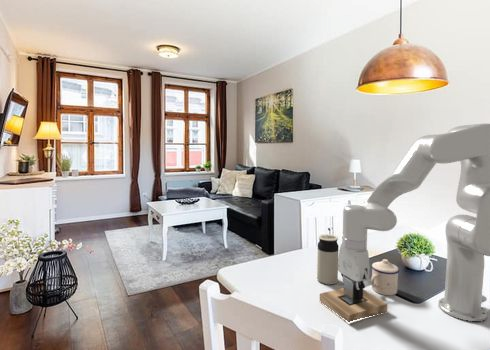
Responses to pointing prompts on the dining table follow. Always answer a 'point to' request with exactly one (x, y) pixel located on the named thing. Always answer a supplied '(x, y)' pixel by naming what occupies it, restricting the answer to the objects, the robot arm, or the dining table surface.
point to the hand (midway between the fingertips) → (353, 295)
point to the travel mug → (327, 259)
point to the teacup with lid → (384, 277)
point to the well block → (355, 311)
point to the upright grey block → (349, 291)
